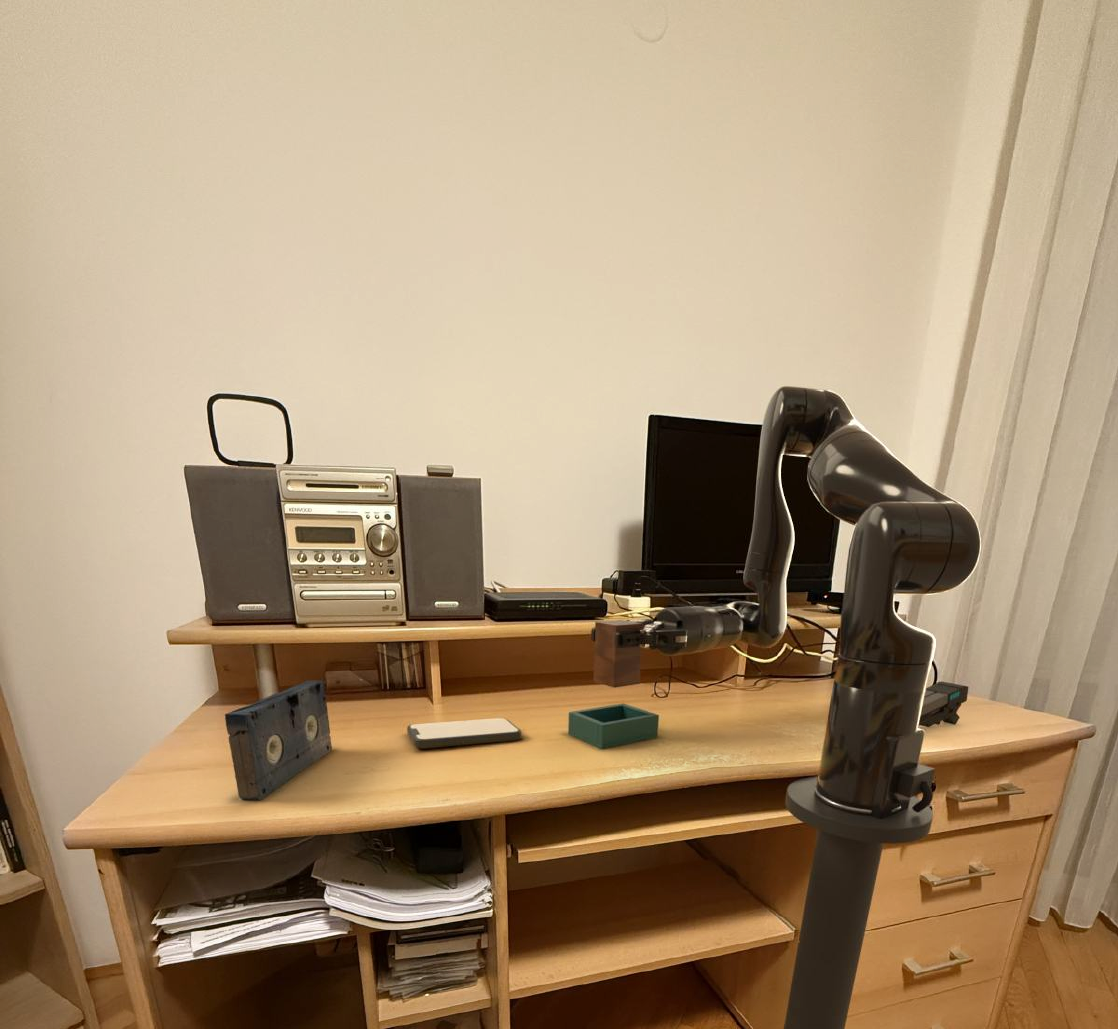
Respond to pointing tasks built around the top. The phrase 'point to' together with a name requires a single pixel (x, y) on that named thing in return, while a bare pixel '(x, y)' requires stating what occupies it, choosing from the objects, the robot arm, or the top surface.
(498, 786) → the top surface
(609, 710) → the open box
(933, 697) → the gun
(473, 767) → the top surface
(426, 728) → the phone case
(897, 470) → the robot arm
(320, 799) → the top surface
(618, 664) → the brown block
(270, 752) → the vhs cassette tape
